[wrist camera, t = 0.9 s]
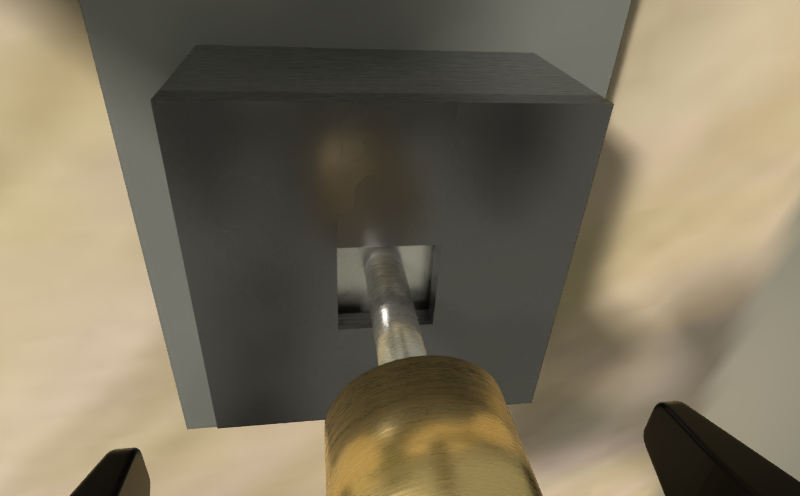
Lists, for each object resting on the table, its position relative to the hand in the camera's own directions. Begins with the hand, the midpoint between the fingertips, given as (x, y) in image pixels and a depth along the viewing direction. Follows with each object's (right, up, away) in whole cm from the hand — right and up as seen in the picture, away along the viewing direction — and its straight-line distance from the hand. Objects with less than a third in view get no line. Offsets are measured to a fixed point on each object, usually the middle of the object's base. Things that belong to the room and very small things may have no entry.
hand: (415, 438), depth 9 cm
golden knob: (-1, +3, +5) cm, 6 cm away
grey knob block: (-1, +5, +7) cm, 9 cm away
